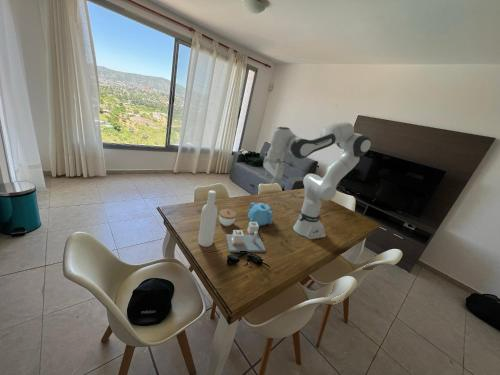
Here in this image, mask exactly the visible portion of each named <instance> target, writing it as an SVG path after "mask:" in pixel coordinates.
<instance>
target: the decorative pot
mask: <svg viewBox="0 0 500 375" xmlns="http://www.w3.org/2000/svg"><path fill="white" fill-rule="evenodd" d="M247 212H248V214H247V217H248V220H249V222H257V224H258V226H259V227H262V226H265V225H267V224H268V225H272V223H273V222H272V218H273V217H274V213H273V212H272V209H271V205H270V204H268V203H267V204H265V203H262V202H258V203H255V202H251V203H250V204H249V209H248V210H247Z"/></svg>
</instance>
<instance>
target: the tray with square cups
mask: <svg viewBox="0 0 500 375" xmlns="http://www.w3.org/2000/svg"><path fill="white" fill-rule="evenodd" d="M257 233H258V235H257ZM232 234H233V233H229V234H228V233H226V234H225V238H226V239H225V240H226V242H227V248H228V251H229V252H228V253H241V252H240V251H247V252H246V253H265V252H266V247H265V245H264V243H263V240H262V239H261V237H260V235H259V231H258V232H256V231H255V232H254V235H250V234H248V233H247V234H244V233H243V234H244V238H243V245H232V241H231V237H232ZM237 235H240V231H237Z"/></svg>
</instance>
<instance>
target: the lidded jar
mask: <svg viewBox="0 0 500 375" xmlns="http://www.w3.org/2000/svg"><path fill="white" fill-rule="evenodd" d="M218 213H219V216H218V219H219V222H220V224H221V225H222V226H224V227H230V226H231V225H233V224H234V223H235V221H236V218H237V212H236V211H235V210H232V209H231V208H224V209H221V210H219V212H218Z"/></svg>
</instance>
